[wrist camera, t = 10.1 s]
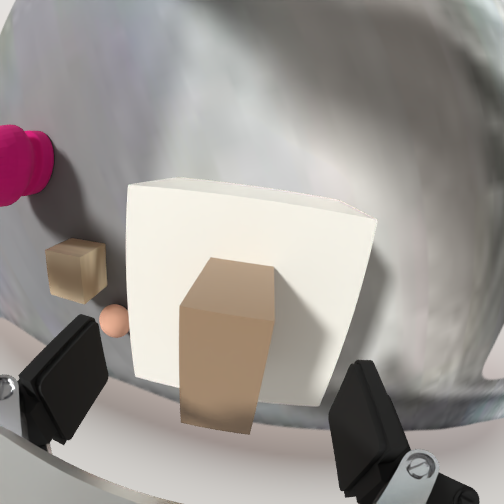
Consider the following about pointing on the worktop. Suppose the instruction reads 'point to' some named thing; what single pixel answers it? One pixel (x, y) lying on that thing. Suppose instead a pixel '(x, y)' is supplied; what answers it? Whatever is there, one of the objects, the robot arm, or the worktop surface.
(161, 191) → the cover
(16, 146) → the pepper mill
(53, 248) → the pine cube
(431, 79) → the worktop surface
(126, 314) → the terracotta ball
